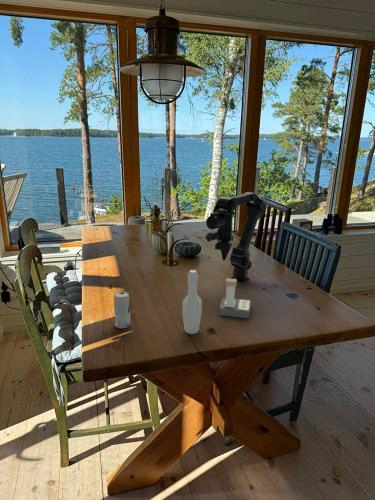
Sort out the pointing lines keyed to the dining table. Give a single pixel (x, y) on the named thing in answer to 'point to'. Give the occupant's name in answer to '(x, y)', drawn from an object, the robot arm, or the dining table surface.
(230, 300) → the slider knob
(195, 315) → the faceted bottle
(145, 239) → the dining table surface
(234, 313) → the switch unit
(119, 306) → the energy drink
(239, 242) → the robot arm
